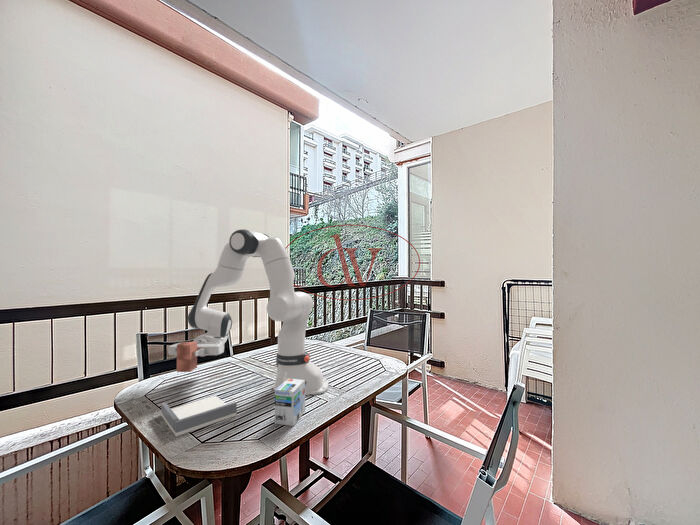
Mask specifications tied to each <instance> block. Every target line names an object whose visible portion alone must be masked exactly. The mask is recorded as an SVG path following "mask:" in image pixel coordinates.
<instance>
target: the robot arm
mask: <svg viewBox="0 0 700 525" xmlns="http://www.w3.org/2000/svg"><path fill="white" fill-rule="evenodd" d="M228 240H229V242H228V243H227V242H226V244H225V245H224V247H223V249H222V252H221V254H220V257H219V259H218V260H219V261H218V264H217V266H216V268H215V269H214V271H213V272H211V273H209V274H208V275H207V276H206V278H205V280H204V281H203V284H202V286H201V288H200V290H199V293H198V295H197V297H196V300H195V302H194V304H193V306H192V308H191V309H190V311H189V313H188V315H187V323H188V324H189V326H190V327H191V328H193V329H200V330H204V331H207V332H205V333H203V334H201V335H198V336H196V337H195V338H194V339H193V341H192V342H197V351H193V353H192V354H193V355H192V356H197V357H206V356H218V355H221V354H223V353H224V352H225V343H226V342H227V340H228V338H229V333H230V332H231V329H232V325H233V320H232V316H231V315H230V313H229V312H225V311H222V310H217V309H213V308H210V307H208V305H207V304H208V302H209V300H210V298H211V295H212V294H213V291H214V290H215V289H216V288H220V287H229V286H232V285H233V286H234V285H235V284H238V283H239V282H240V281H241V280H242V277H243V274H244V270H245V267H246V266H245V265H246V262H247V260H248V259H249V258H250V257H252V258H261V260H262V261H261V262H262V264H263V267H264V269H265V274H266V277H267V280H268V284H269V300H268V302H267V305H266V313H267V315H268V316H269V318H270V319H271V320H272V321H275V322H282V325H281V328H280V330H279V332H277V334H278V335H277V353H276V357H275V363H276V376H275V381H274V383H273V384H274V385H273V388H272V389H273V390H274V391H275V389H277V388H278V387H279V386H280V385H281V384H282V383H283V382H285V381H286V380H287V379H298V380H305V396H308V395H309V396H310V394H311V395H322V394H324V393H326V392H327V391H328V389H329V381H328V380H327V378H324V376H323V371H322V369H321V368H320V367H318V366H317V365H316V364H314V363H313V362H312V361H310V358H311V357H310V356H311V355H310V352H307V351H305V350H306V331H307V330H306V328H307V325H308V321H309V320H308V319H309V316H310V314H311V311H312V309H313V307H314V300H313V298H312V296H311V295H310V294H309V293H306V292H303V291H295V288H294V280H295V277H296V274H295V271H294V268H293V265H292V262H291V260H290V257H289V254H288V252H287V249H286V247H285V245H284V244H283V242H282V241H281V239H279V237H270V236H269V235H267V234H265V233H261V232H260V231H259V232H258V231H255V230H250V229H237V230H235V231H234V232H232V233H231V235H230V237H229V239H228ZM183 342H184V341H183ZM183 342H178V343H177V342H176V343H173V344H171V345H169V346H168V347H167V348H168V349H167V352H168V355H169V356H175V357H177V345H178V344H180V343H183ZM326 390H327V391H326ZM321 393H322V394H321Z"/></svg>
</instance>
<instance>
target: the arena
mask: <svg viewBox="0 0 700 525" xmlns="http://www.w3.org/2000/svg"><path fill="white" fill-rule="evenodd" d="M160 405H161V406H160V407H161V408H160V416H161V417H162V419H163V421H164V422H165V423H166V425H167V426H168V428H169V429H170V430H171V432H172V433H173V434H174V436H175V437H178V436H181V435H184V434H187V433H191V432H192V431H196V430H198V429H202V428H205V427H207V426H210V425H213V424H216V423H218V422H222V421H225V420H226V419H227V420H228V419H231V418H232V417H236V416H237V413H238V412H237V402H231V403H228V404H227V403H225V402H224V401H223V400H222V399H221V398H219V397H218V396H217V395H214V396H211V397H207V398H204V399H200V400H197V401H193V402H190V403H187V404H184V405H180V406H177V407H173V408H171V407H170V406H169V404H168V403H167V402H161V404H160Z"/></svg>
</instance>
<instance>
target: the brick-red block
mask: <svg viewBox="0 0 700 525" xmlns="http://www.w3.org/2000/svg"><path fill="white" fill-rule="evenodd" d="M179 343H180V344H178V345H177V356H176V373H185V372H186V373H191V372H192V371H193V370H195V369H197V368H198V356H192V355H193V354H192V353H193V351H197V342H193V341H183V343H181V342H179Z"/></svg>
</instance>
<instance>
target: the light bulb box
mask: <svg viewBox="0 0 700 525" xmlns="http://www.w3.org/2000/svg"><path fill="white" fill-rule="evenodd" d="M305 412H306V395H305V380H298V379H287V380H286V381H285V382H283V383H282V384H281V385H280V386H279V387H278V388H277V389H275V390H274V425H282V426H288V427H289V426H291V427H294V426H295V425H296V424H297V423H298V421H299V420H300V418H301V417H302V416H303V415H304V414H305Z"/></svg>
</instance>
